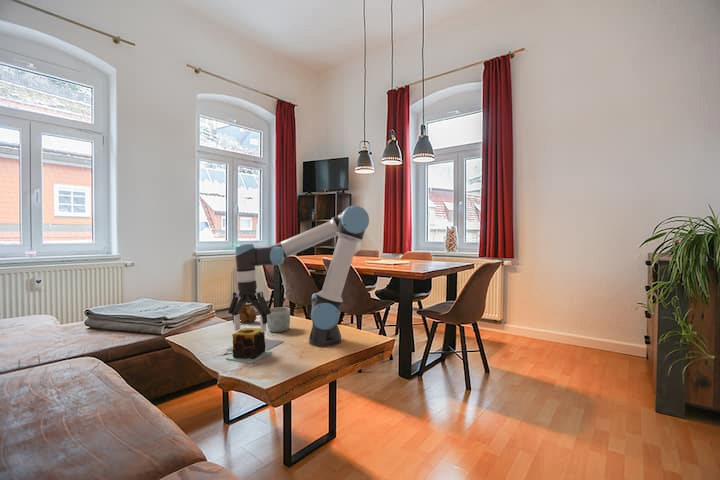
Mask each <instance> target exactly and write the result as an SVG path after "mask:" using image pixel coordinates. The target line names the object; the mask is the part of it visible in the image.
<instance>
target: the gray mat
mask: <svg viewBox="0 0 720 480" xmlns="http://www.w3.org/2000/svg"><path fill="white" fill-rule="evenodd" d="M284 342H285V341H284V340H277V339H267V338H265V345H266V347H265V350H266V351H270V350H271V349H272V348H274V347H277V346H279V345H280V344H282V343H284ZM226 351H232V352H233V346H231V347H229V348H227V349H226Z"/></svg>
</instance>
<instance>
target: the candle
mask: <svg viewBox="0 0 720 480" xmlns="http://www.w3.org/2000/svg"><path fill="white" fill-rule="evenodd" d="M231 334H232V347H233V351H232V355H233V358H249V359H255V358H256V357H258V356H259V355H261V354H262V353H263V352H265V347H266V345H265V339H266V337H265V335H266V334H265V332H263V333H262V332H261V327H260V328H259V327H257V328H256V327H244V328H241V329H239V330H237V331H235V332H234V333H231Z"/></svg>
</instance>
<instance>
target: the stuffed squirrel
mask: <svg viewBox="0 0 720 480" xmlns="http://www.w3.org/2000/svg"><path fill="white" fill-rule="evenodd" d="M237 304H238V302H237ZM238 314H239V315H240V320H241V321H240V323H243V324H246V322H247V323H248V322H249V323H248V324H250V323H253V322H255V321H256V320H257V313H256V308H255V307H254V306H253V305H247V303H244V304H243V306H242V307H241V309H240V310H239V312H238ZM232 323H233V324H234V322H233V321H232Z"/></svg>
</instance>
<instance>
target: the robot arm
mask: <svg viewBox="0 0 720 480" xmlns="http://www.w3.org/2000/svg"><path fill="white" fill-rule="evenodd" d="M369 225H370V217H369V214H368V212H367V211H366V209H365V208H363V207H362V206H359V205H350V206H347V207H345V209H344V210H343V211H342V212H340V213H339V214H337V215H335V216H333V217H331V220H329V221H326V222H325V223H322V224H320V225H317V226H314V227H312V228H311V229H308V230H306V231H303V232H300V233H299V234H296V235H294V236H291V237H289V238H286V239H285V240H282V241H280V242H278V243H275V244H274V245H270V246H269V247H268V246H267V247H255V246H254V244H253V243H241V244H237V245H236V246H235V264H236V266H235V267H236V280H237V281H238V282H237V291H234V292H233V293H232V299H231V301H230V305H229V308H228V313H227V314H231V316H232V323H233V322H234V323H233V324H234V325H233V326H234V331H235V332H238V331H239V330H241V324H240V315H239V314H238V312H239V310H240V309H241V307H242V306H243V304H244V303H246V304H251V305H252V306H253V307H254V309H255V310H256V311H257V312H258V313H259V314H260V316H259V322H260V325H259V326H260V328H261V332H262V333H263V332H264V333H265V332H267V315H268V314H271V311H270V309H271V308H270V307H269V306H268V305H269V304H268V303H267V301H266V299H265V296H264V292H263V291H259V292H257V288H258V285H257V284H258V283H257V280H256V279H257V275H256V274H257V272H256V267H258V266H259V267H260V266H277V265H282V264H284V261H285V259H286V258H288V257H290V256H293V255H295V254H297V253H300V252H302V251H305V250H307V249H309V248H311V247H314V246H316V245H318V244H321V243H323V242H325V241H328V240H331V239H333V238H335V237H338V238H337V240H336V244H335V247H334V251H333V254H332V257H331V260H330V263H329V267H328V270H327V273H326V275H325V278H324V279H325V280H324V282H323V285H322V289H321V290H320V291H318V292H316V293H313V294H312V295H311V310H310V311H311V313H310V320H311V322H312V327H311V330H310V334H309V337H308V338H309V339H308V340H309V345H311V346H314V347H319V348H320V347H333V346H336V345H339V344H341V342H342V341H343V340H342V339H343V338H342V334H341V331H340V329H339V326H338V322H339V320H340V312H341V309H342V305H343V301H344V300H343V298H342V293H343V291H344V287H345V284H346V280H347V278H348V275H349V271H350V267H351V266H352V262H353V259H354V256H355V253H356V250H357V246H358V243H360V242H362V241H363V238H364V236H365V231H366V230H367V228H368V226H369ZM237 302H238V304H237Z"/></svg>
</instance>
